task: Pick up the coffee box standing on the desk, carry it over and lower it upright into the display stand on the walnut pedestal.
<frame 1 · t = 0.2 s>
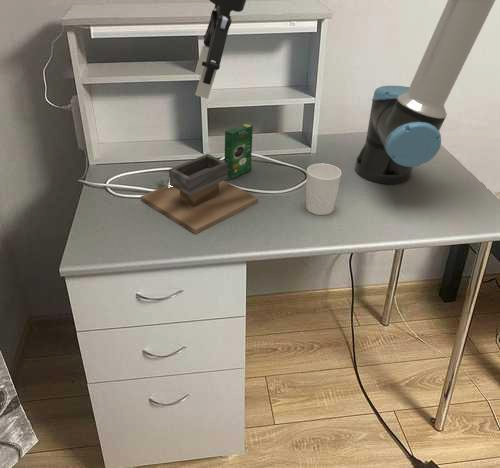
hand: (201, 85, 116), 27 cm above the table, tool tilted 20°, fingers open, 13 cm apart
display stand: (199, 201, 128), on the table
coffee box: (237, 174, 140), on the table
white cup: (319, 208, 127), on the table
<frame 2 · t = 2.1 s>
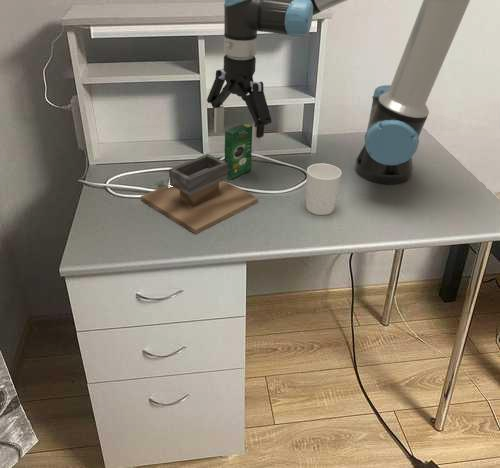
hand: (237, 139, 135), 10 cm above the table, tool pointing down, fingers open, 13 cm apart
nothing on the table moved.
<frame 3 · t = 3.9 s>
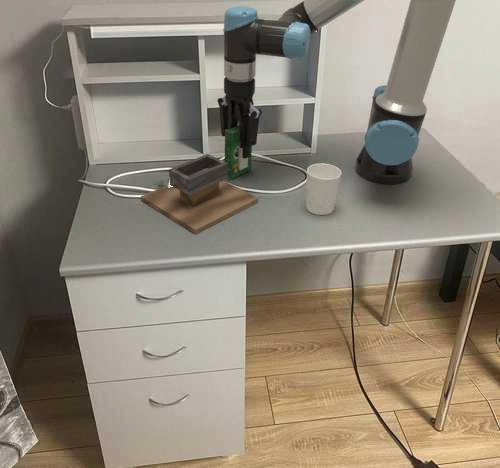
hand: (238, 165, 139), 2 cm above the table, tool pointing down, fingers closed on coffee box, 3 cm apart
coffee box: (237, 174, 140), on the table, touching gripper
everything else where it was.
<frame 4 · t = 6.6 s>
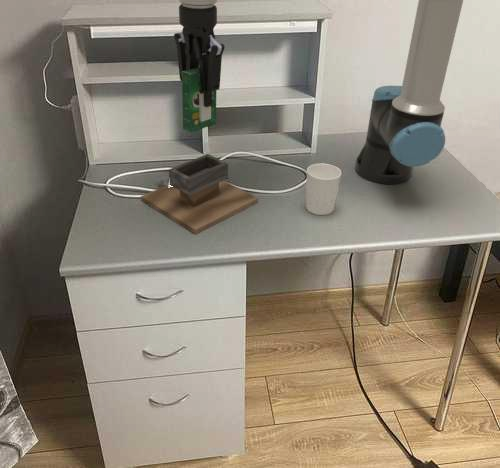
hand: (199, 117, 117), 21 cm above the table, tool pointing down, fingers closed on coffee box, 3 cm apart
coffee box: (200, 127, 118), point 18 cm above the table, touching gripper
everything else where it was.
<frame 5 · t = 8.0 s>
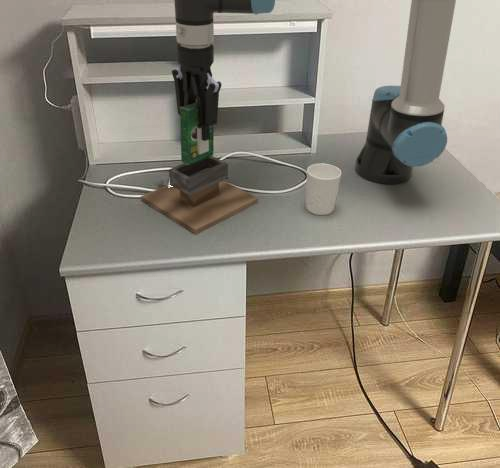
hand: (197, 149, 120), 14 cm above the table, tool pointing down, fingers closed on coffee box, 3 cm apart
coffee box: (198, 159, 121), point 11 cm above the table, touching gripper
everything else where it was.
when the fingers open (11 cm above the table, at t = 9.1 s): coffee box drops 2 cm, resting on display stand.
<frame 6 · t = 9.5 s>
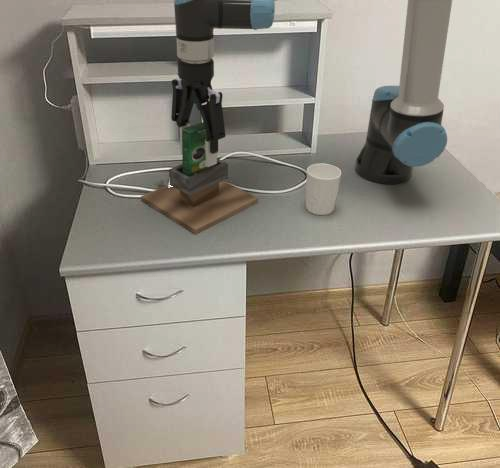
hand: (198, 158, 121), 12 cm above the table, tool pointing down, fingers open, 8 cm apart
coffee box: (199, 178, 124), point 6 cm above the table, touching display stand
everything else where it was.
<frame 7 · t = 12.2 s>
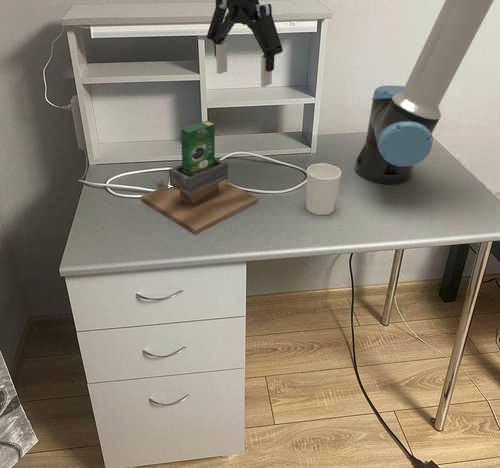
hand: (243, 78, 119), 28 cm above the table, tool pointing down, fingers open, 13 cm apart
nothing on the table moved.
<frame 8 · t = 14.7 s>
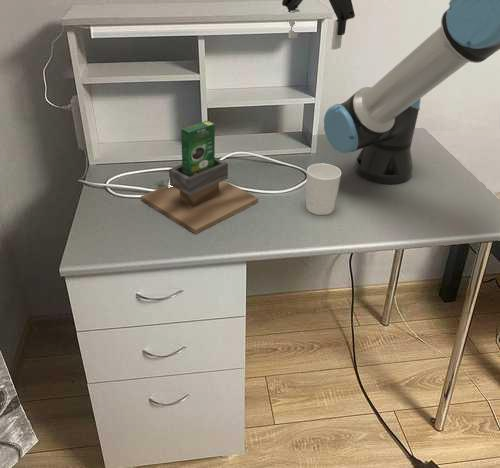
hand: (313, 42, 131), 32 cm above the table, tool pointing down, fingers open, 13 cm apart
nothing on the table moved.
at the end: coffee box 0.0 cm off-centre on the display stand, point 6.3 cm above the display stand's base; coffee box tilted 0°; the gripper is holding nothing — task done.
